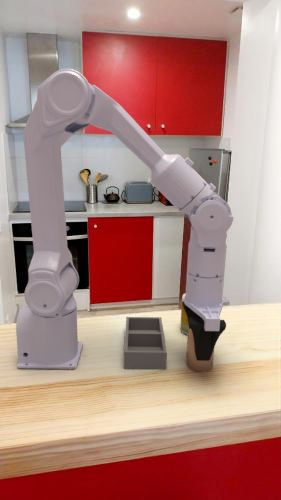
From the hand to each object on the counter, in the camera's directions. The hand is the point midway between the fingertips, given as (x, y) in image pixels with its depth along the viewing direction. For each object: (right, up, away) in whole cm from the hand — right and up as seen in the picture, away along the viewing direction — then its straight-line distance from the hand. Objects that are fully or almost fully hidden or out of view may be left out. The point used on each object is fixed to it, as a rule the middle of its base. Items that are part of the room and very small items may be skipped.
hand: (200, 351), depth 59 cm
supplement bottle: (+1, 0, +12) cm, 12 cm away
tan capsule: (0, -2, +1) cm, 2 cm away
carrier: (-9, -1, +5) cm, 11 cm away
